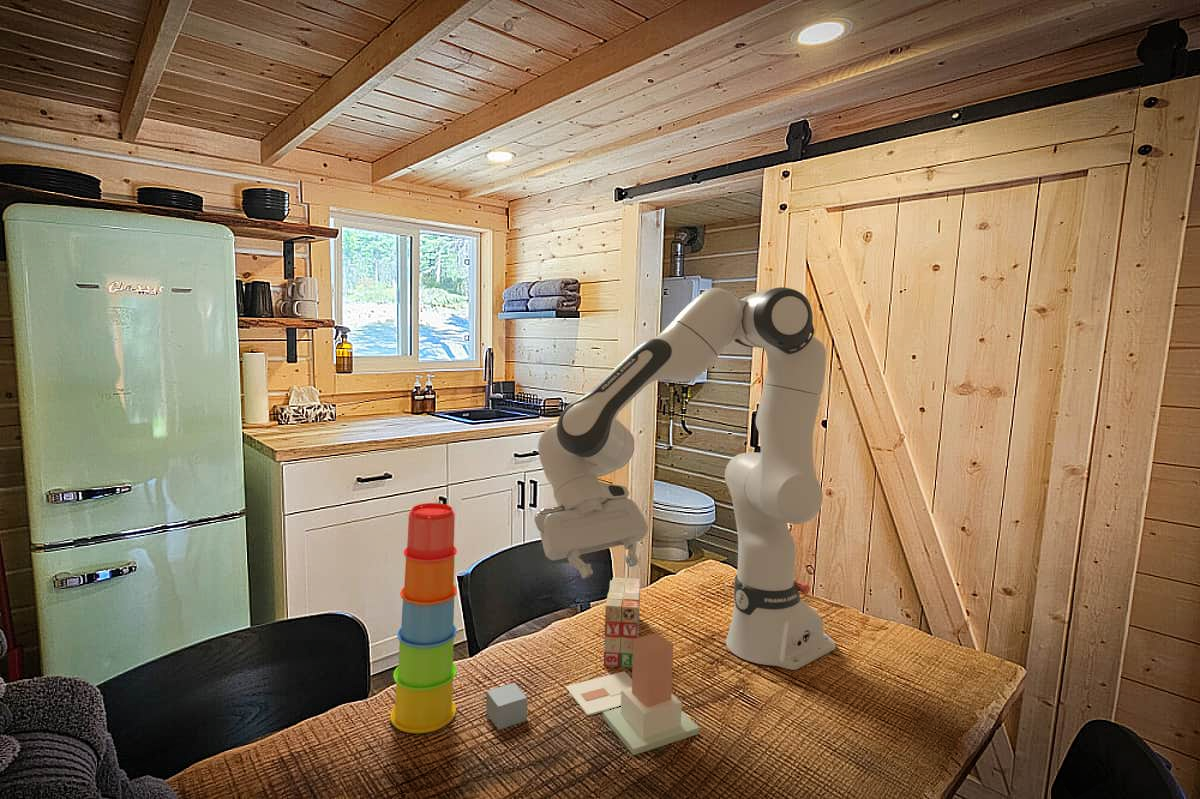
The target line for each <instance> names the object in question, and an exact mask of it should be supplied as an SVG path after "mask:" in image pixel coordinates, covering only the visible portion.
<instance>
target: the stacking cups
mask: <svg viewBox="0 0 1200 799" xmlns="http://www.w3.org/2000/svg"><path fill="white" fill-rule="evenodd" d="M455 518H456V517H455V511H454V510H453V507H452V506H450V505H448V504H446V503H445V504H444V503H440V502H439V503H437V502H434V503H433V502H429V503H428V502H427V503H421V504H416V505H414V506H412V508H411V510H410V511H409V513H408V524H407V526H408V527H407V544H406V545H407V546H406V548H404V550H403V555H404V557H405V568H404V569H405V570H404V571H405V572H404V584H403V585H404V586H403V587H402V588H401V590H400V598H401V599H402V608H401V626H400V628H399V629H398V630H397V634H396V635H397V636H396V637H397V640H398V642H399V644H398V645H399V648H398V649H399V650H398V666H397V667H396V668H395V670H394V672H393V680H394V682H395V683H396V684H395V699H394V700H395V704H394V706H393V708H392V709H391V711H390V715H389V716H390V717H389V718H390V722H391V723H392V726H394V727H395V728H396V729H397V730H399V731H401V732H405V733H407V734H408V733H409V734H427V733H428V734H429V733H432V732H434V731H437V730H440V729H442V728H444V727H446V726H447V725H448V724H449V723H450V722H452V720H453V719H454V717H455V716H456V712H457V706H456V703H455V702H454V700H453V680H454V679H455V677H456V675H457V671H458V670H457V666H456V664H455V663H454V639H455V637H456V636H457V633H458V632H457V627H456V625H455V624H454V620H455V619H454V618H455V617H454V615H455V597H456V595H457V593H458V588H457V586H455V585H454V584H455V582H454V581H455V557H456V554H457V552H458V550H457V547H456V546H455Z"/></svg>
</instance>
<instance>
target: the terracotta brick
mask: <svg viewBox="0 0 1200 799" xmlns="http://www.w3.org/2000/svg"><path fill="white" fill-rule="evenodd" d="M673 662H674V644H673V643H671V642H670V641H668V640H667V639H666V638H664V637H663V636H661V635H660V634H659V633H657V632H655V633H651V634H648V635H643V636H640V637H638V638H637V639H633V668H632V670H631V671H632V673H631V674H632V676H631V678H632V694H633V695H635V696H636V697H637V698H638V699H639V700H640V701H641V702H643V703H644V704H645V705H646V706H647V707H648V708H649V707H651V706H654V705H657V704H660V703H662V702H665V701H668V700H670V699H671V696H672V694H673V693H672V692H673V690H672V689H673V667H674V666H673Z"/></svg>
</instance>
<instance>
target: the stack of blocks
mask: <svg viewBox="0 0 1200 799" xmlns="http://www.w3.org/2000/svg"><path fill="white" fill-rule="evenodd" d="M640 580H641V579H640V578H632V577H631V578H629V577H626V578H625V577H612V580H611V579H610V580H609V588H608V592H607V596H606V600H605V610H604V612H605V614H604V615H605V616H604V617H605V618H604V648H603V649H604V650H603V667H607V666H614V667H613V668H623V667H625V668H626V669H633V639H637V638H639V631H640V604H641V592H640V591H641V582H640ZM625 668H624V669H625Z"/></svg>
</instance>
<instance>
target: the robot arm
mask: <svg viewBox="0 0 1200 799" xmlns="http://www.w3.org/2000/svg"><path fill="white" fill-rule="evenodd" d="M813 317H814V316H813V309H812V307H811V304H810V301H809V299H808V298H807V296H805V294H803V293H801V292H800V291H798V290H797V289H794V288H791V287H790V288H789V287H782V286H781V287H779V286H778V287H774V288H769V289H768V288H767V289H762V290H758V291H756V292H754V293H752V294H749V295H746V296H743V297H739V298H738V297H736V296H735V295H734V294H733V293H732V292H730V291H728V290H726V289H724V288H721V287H711V288H708V289H705V290H704V291H702V292H701V293H700V294H699V295H697V296H696V297H695V298H694V299H692V300H691V301H690V302H689V303H688V304H687V305H686V306H684V307H683V309H682V310H681V311H680V312H679V313H678V314H677V315H676V316H675V317H674V319H672V321H671V322H670V323H669V324H668V325H667V326H666V327H665V328H664V329H663V330H662V331H661V332H660V333H659V334H657V335H656V336H655V337H654V338H652V339H649V340H646V341H644V342H643V343H641V344H640V345H639V346H637V348H635V349H634V350H633V351H631V353H629V354H628V355H627V356H626V357H625V358H624V359H623V360H622V361H620V363H618V365H617V366H615V368H614V369H612V370H611V371H610V372H609V373H608V374H607V375H606V376H605V377H604V378H603V379H602V380H600V382H598V384H596V385H595V386H594V387H593V388H592V389H591V390H589V391H588V392H586V393H585V394H584V395H582V396H580V397H578V398H576V399H574V400H573V401H571V402H570V403H569V404H568V405H566V406H565V407H564V408H563V410H562V411H561V413H560V415H559V417H558V420H557V423H556V424H554V425H551V426H549V428H547V429H546V430H544V432H542V434H541V435H540V438H539V440H538V442H537V444H538V445H537V450H538V452H537V453H538V456H539V460H540V464H541V467H542V469H543V473H544V475H545V477H546V480H547V481H548V483H549V484H550V485H551V486H552V490H553V497H554V499H555V502H556V504H557V506H552V507H551V508H550V507H549V508H542V509H540V510H538V511H539V512H537V513H536V514H535V516H534V523H535V525H536V528H537V530H538V532H540V538H541V543H542V547H543V551H544V554H545V556H546V557H547V558H548V559H549V560H550V561H557V560H562V559H567V560H568V562H569V564H571V565H572V566H573V567H574V568H575V569H576V570H577V571H579V574H580V576H581V579H586V578H590V577H592V576H593V574H594V570H593V569H592V565H591V563H585V562H584V561H583V559H582V558H580V557H581V555H583V554H588V553H594V552H599V551H601V550H602V551H603V550H607V549H611V548H616V547H620V546H621V547H622V546H623V547H624V549H625V550H628V552H627V556H626V557H625V559H624V561H625V563H626V565H627V566H626V567H628V568H631V567H636V566H637V565H638V564H639V562H640V561H639V558H638V556H637V554H636V553H637V543H638V542H641V541H642V540H643V539H644V538H645V537H646V536H647V534H648V532H649V525H648V523H647V521H646V519H645V516H644V515H643V513H642V512H641V509H640V508H639V506H638V504H637V503H636V502H635V501H634V500H633V499H631V498H629V497H630V491H629V489H628V488H627V487H626V486H624V485H618V484H612V483H607V482H603V481H599V479H598V477H603V476H605V475H608V474H611V473H613V472H614V471H617V470H619V469H622V468H623V467H624V466H626V465H627V464H628V462H629V461H630V460H631V458H632V456H633V455H634V454H633V453H634V451H635V439H634V436H633V434H632V433H631V431H630V430H629V429H628V428H627V427H626V426H625V425H624V424H622V423H621V421H619V419H617V416H618V414H619V413H620V412H621V411H622V409H624V408H625V407H626V406H627V405H628V404H629V403H630V402H632V400H634V398H635V397H636V396H637V395H638V394H639V393H640V392H642V391H643V389H644V388H646V387H647V386H648V385H649V384H651V383H653V382H656V381H660V380H661V381H662V380H664V381H665V380H666V381H672V382H676V383H677V382H678V383H685V382H690V381H691V382H692V381H694V380H696V379H697V378H698V377H700V376H701V375H702V374H703V373H704V372H706V371H707V370H708V369H709V368H710V366H712V365H713V363H714V362H715V361H716V359H717V358H718V357H719V356H720V354H721V353H722V352H723V351H724V349H726V347H727V346H729V345H730V344H731V343H732V342H736V343H737V344H739V345H742V346H744V347H747V348H759V349H764V351H765V352H766V357H767V371H766V374H765V376H764V377H765V378H764V381H763V385H762V390H761V395H760V398H759V403H758V408H757V411H756V412H757V413H756V416H755V427H756V429H757V431H758V435H759V445H760V452H759V451H758V452H757V451H755V452H752V451H751V452H741V453H739V454H736V455H734V456H733V457H732V458H731V459H730V460H729V462H728V463H727V465H726V468H725V470H724V482H725V484H726V486H727V488H728V491H729V492H730V493H729V494H730V497H731V500H732V506H733V512H734V519H735V525H736V529H737V530H736V531H737V532H736V533H737V542H738V543H737V545H738V546H737V573H736V574H735V576H734V584H733V585H734V586H733V587H734V588H733V589H734V590H733V595H734V596H733V597H734V606H733V611H732V616H731V621H730V625H729V630H728V633H727V636H726V640H725V644H726V645H725V646H726V648H727V649H728V650H729V651H730V652H731V653H732V654H734V655H735V656H737V657H739V658H741V659H742V660H745V661H748V662H751V663H755V664H759V665H766V666H774V667H775V666H776V667H779V668H783V669H787V670H792V671H796V670H798V669H800V668H802V667H804V666H807V665H808V664H810V663H812V662H813V661H816V660H817V659H819V658H821V657H823V656H825V655H827V654H829V653H830V652H832V651H834V650H836V649H837V647H836V642H835V641H834V640H833V639H832V638H831V636H829V635H828V634H827V633H826V632H824V630H825V629H824V621H823V619H822V616H821V615H820V614H819V613H818V612H817V611H816V610H815V609H814V608H813V607H812V606H810V605H809V604H808V603H807V602H805V601H804V600H803V599H802V598H801V597H800V592H801V593H802V594H804V595H808V594H809V592H810V591H811V586H810V584H808V583H804V582H803V581H799V582H797V581H796V579H795V574H796V573H795V570H796V569H795V568H796V553H797V550H796V548H797V547H796V543H795V539H794V537H793V536H792V534H791V531H790V528H789V525H788V524H791V525H801V524H805V523H808V522H809V521H811V520H813V519H814V518H815V517H816V515H818V513H820V512H819V511H820V510H821V508H822V504H823V502H824V501H823V499H824V494H823V493H824V492H823V488H822V486H821V484H820V482H819V480H818V478H817V474H816V471H815V470H816V469H815V465H814V464H815V463H814V462H815V461H814V447H813V446H814V445H813V443H814V442H813V441H814V430H815V425H816V420H817V416H818V411H819V407H820V402H821V398H822V392H823V389H824V388H823V387H824V384H825V383H824V382H825V375H826V374H825V373H826V364H827V356H826V355H827V351H826V350H827V349H826V347H825V346H824V344H823V343H822V342H821V340H819V339H818V338H816V337H814V335H815V328H814V325H813V319H814V318H813Z"/></svg>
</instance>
